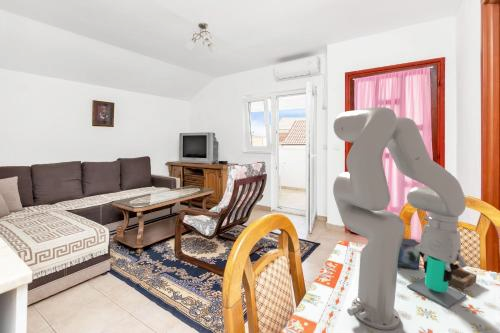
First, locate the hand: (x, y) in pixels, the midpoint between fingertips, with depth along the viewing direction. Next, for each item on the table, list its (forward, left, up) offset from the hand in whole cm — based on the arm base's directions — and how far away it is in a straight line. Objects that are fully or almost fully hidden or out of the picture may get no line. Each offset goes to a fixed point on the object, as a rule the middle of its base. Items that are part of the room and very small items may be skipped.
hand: (436, 275), depth 80 cm
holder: (+14, +1, -6) cm, 15 cm away
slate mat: (0, 0, -6) cm, 6 cm away
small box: (+8, +16, -6) cm, 18 cm away
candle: (0, 0, -4) cm, 4 cm away
